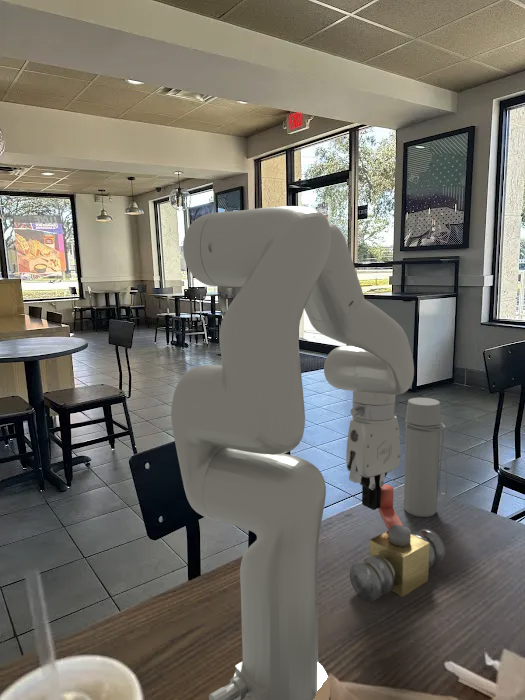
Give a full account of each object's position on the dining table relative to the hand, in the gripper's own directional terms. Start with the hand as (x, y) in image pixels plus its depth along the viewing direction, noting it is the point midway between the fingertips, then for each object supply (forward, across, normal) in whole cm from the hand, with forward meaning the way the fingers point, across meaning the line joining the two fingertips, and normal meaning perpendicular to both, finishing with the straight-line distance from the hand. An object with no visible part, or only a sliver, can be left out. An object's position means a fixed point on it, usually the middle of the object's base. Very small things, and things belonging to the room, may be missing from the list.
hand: (371, 506), depth 94 cm
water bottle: (+9, +22, +4) cm, 24 cm away
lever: (+2, +1, -4) cm, 5 cm away
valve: (+10, -2, -8) cm, 13 cm away
